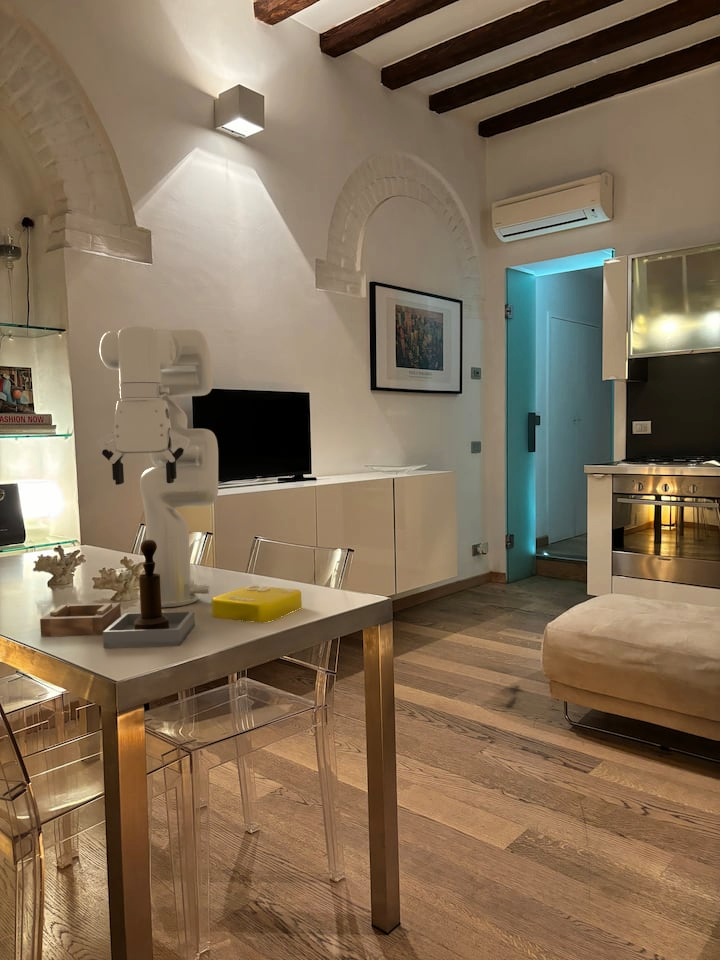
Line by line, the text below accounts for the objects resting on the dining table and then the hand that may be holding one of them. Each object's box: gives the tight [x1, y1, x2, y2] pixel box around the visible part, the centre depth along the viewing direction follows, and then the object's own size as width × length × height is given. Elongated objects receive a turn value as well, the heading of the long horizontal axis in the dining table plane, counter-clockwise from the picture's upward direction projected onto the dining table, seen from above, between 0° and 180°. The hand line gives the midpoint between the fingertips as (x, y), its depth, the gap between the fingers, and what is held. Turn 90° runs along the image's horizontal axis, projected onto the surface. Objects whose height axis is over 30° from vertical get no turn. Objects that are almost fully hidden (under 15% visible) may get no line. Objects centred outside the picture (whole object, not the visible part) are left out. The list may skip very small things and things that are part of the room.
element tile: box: [211, 584, 303, 623], centre depth 159 cm, size 15×15×5 cm
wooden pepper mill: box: [134, 539, 169, 630], centre depth 141 cm, size 7×6×18 cm
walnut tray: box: [39, 602, 122, 638], centre depth 149 cm, size 12×12×4 cm
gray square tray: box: [102, 610, 196, 649], centre depth 141 cm, size 14×14×3 cm
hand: (145, 483), depth 140 cm, fingers open, 9 cm apart
